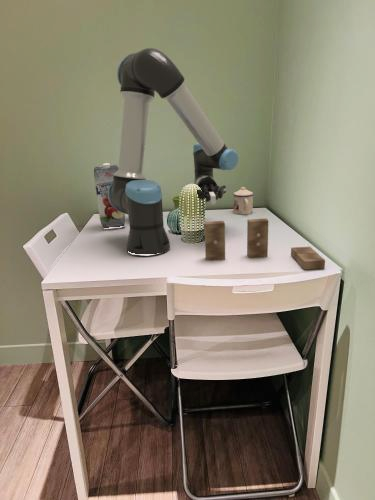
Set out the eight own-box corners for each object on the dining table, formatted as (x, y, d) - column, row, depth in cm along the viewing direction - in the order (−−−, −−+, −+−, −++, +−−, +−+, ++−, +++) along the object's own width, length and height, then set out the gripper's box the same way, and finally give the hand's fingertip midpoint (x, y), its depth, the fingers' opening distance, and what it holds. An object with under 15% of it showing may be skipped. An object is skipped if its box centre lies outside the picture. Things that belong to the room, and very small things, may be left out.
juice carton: (100, 226, 161) (92, 162, 152) (124, 223, 164) (118, 161, 154) (101, 231, 153) (92, 165, 144) (126, 228, 155) (120, 163, 146)
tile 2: (248, 258, 117) (249, 221, 113) (247, 255, 120) (247, 219, 116) (267, 257, 117) (268, 220, 113) (265, 254, 120) (266, 218, 116)
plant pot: (196, 216, 170) (196, 197, 167) (178, 219, 166) (177, 200, 163) (186, 212, 178) (186, 194, 175) (169, 215, 173) (168, 197, 170)
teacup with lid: (231, 210, 176) (231, 186, 172) (250, 209, 177) (250, 185, 173) (236, 216, 165) (236, 191, 161) (256, 215, 166) (257, 189, 162)
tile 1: (206, 260, 117) (205, 224, 113) (205, 257, 119) (204, 222, 115) (225, 259, 117) (224, 223, 113) (224, 256, 119) (223, 220, 115)
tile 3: (290, 255, 118) (303, 270, 106) (291, 247, 117) (304, 261, 105) (309, 254, 118) (324, 269, 106) (310, 246, 117) (325, 260, 106)
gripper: (223, 194, 143) (233, 209, 121) (190, 197, 143) (194, 212, 121) (223, 175, 141) (233, 187, 118) (189, 177, 140) (192, 190, 118)
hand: (213, 200), depth 120 cm, fingers closed
